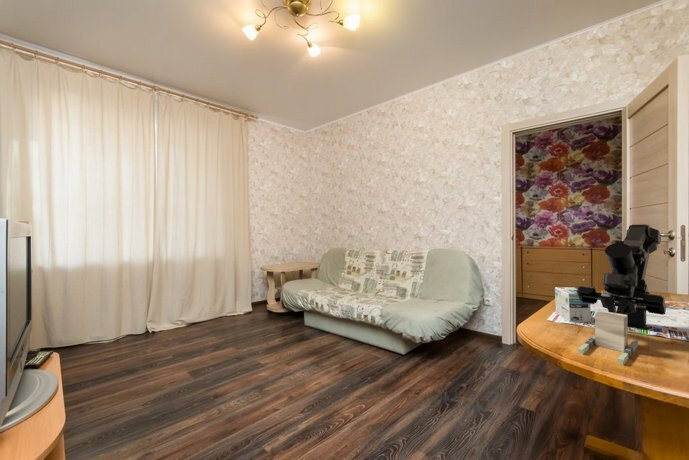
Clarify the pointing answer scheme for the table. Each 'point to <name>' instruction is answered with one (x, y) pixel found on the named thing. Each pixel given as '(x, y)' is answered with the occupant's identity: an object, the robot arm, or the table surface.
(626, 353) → the channel
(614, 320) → the cream block
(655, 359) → the table surface
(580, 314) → the light bulb box
